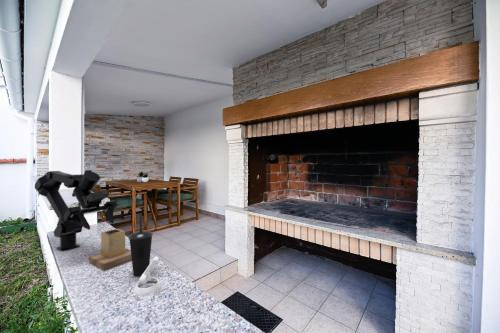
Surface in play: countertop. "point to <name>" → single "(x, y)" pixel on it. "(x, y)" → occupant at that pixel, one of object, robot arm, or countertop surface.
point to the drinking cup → (140, 250)
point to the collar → (112, 243)
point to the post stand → (110, 260)
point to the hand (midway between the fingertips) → (101, 225)
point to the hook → (148, 280)
